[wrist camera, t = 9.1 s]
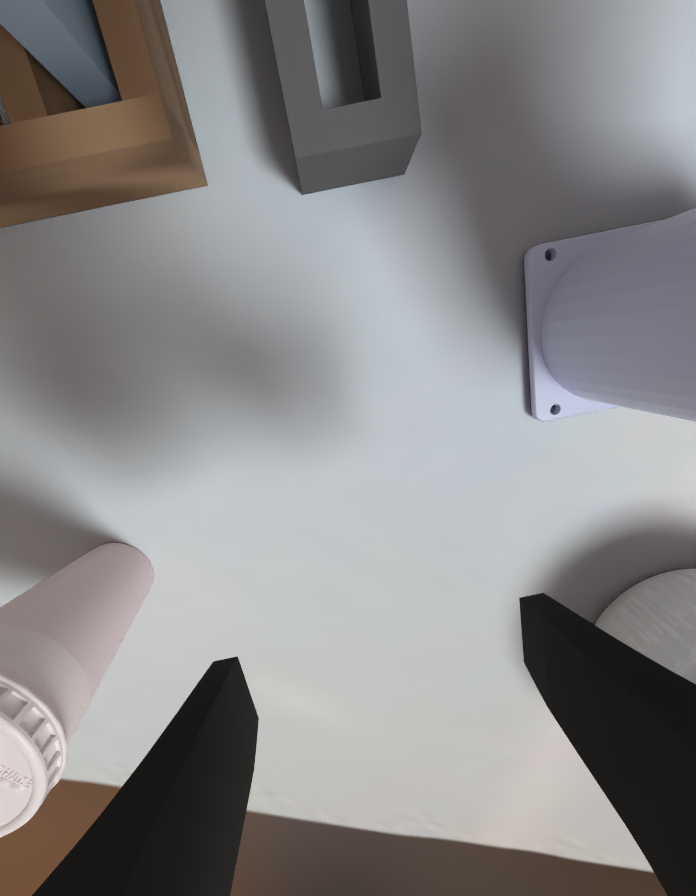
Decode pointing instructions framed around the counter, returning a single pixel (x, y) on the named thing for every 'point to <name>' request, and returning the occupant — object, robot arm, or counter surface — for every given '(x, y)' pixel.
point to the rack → (96, 124)
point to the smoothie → (59, 666)
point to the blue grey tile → (65, 45)
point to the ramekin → (658, 620)
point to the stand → (355, 125)
